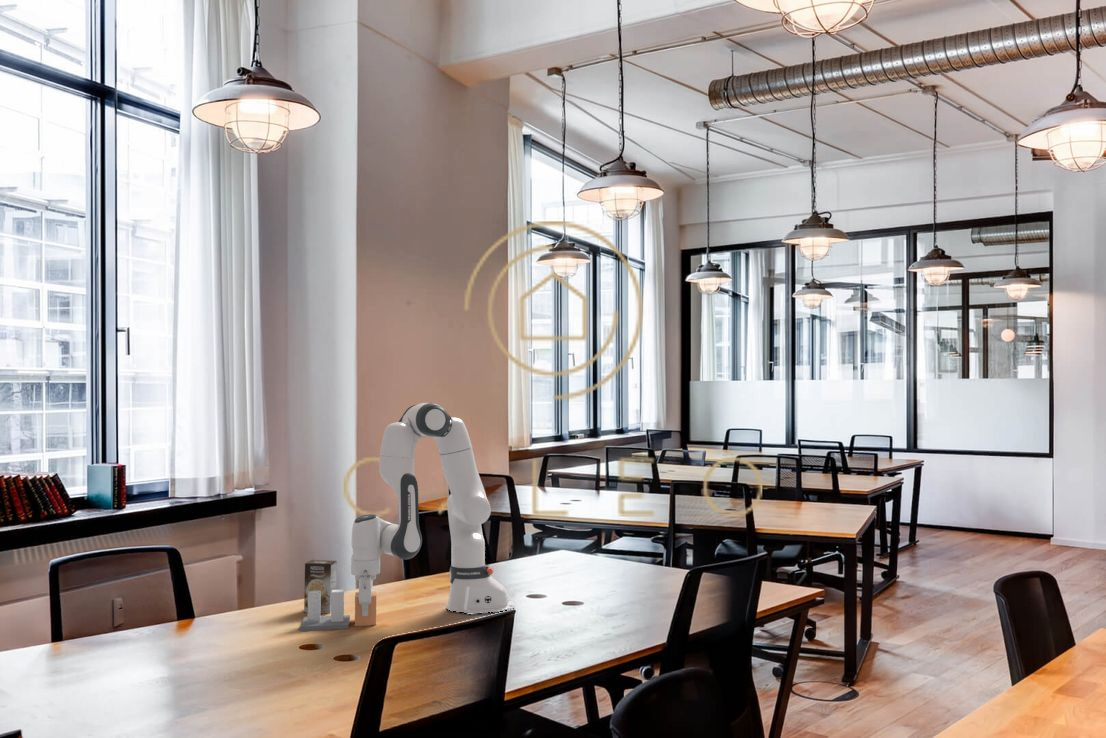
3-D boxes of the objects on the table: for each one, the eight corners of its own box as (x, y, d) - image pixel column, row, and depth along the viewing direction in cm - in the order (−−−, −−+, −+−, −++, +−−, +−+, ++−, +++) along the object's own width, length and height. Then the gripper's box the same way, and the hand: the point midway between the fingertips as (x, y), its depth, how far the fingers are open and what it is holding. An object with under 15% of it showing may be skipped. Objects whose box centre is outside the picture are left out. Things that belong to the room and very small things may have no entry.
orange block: (376, 619, 282) (376, 591, 282) (376, 624, 276) (376, 596, 276) (355, 620, 281) (355, 592, 281) (354, 625, 274) (354, 597, 275)
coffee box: (302, 612, 291) (303, 563, 292) (310, 608, 298) (310, 559, 298) (330, 613, 290) (330, 563, 291) (337, 608, 297) (337, 560, 297)
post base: (349, 618, 283) (350, 586, 283) (348, 628, 271) (348, 594, 272) (304, 620, 281) (304, 588, 281) (300, 630, 269) (300, 596, 269)
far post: (320, 623, 277) (320, 590, 278) (319, 626, 274) (320, 592, 274) (308, 624, 277) (308, 590, 277) (307, 626, 273) (307, 593, 274)
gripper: (375, 573, 269) (375, 620, 269) (376, 561, 289) (376, 604, 289) (354, 574, 268) (353, 621, 267) (356, 562, 288) (356, 605, 288)
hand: (365, 612), depth 278 cm, fingers closed on orange block, 6 cm apart
